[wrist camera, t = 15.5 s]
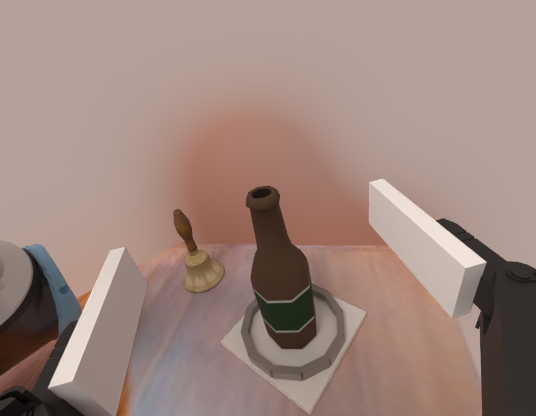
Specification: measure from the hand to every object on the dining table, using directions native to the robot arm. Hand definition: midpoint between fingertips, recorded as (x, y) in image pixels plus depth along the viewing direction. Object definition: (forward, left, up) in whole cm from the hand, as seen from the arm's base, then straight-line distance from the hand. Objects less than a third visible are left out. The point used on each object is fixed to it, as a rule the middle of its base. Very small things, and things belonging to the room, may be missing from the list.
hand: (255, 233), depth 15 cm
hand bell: (-31, +10, -30) cm, 45 cm away
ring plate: (-9, +10, -30) cm, 33 cm away
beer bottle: (-9, +10, -29) cm, 32 cm away
